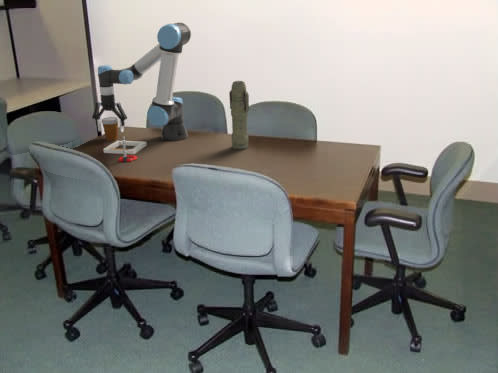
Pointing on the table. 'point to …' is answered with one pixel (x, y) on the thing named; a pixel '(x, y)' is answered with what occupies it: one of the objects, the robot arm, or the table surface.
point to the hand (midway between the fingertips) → (111, 131)
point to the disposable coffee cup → (110, 128)
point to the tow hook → (125, 156)
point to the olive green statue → (239, 114)
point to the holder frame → (138, 145)
